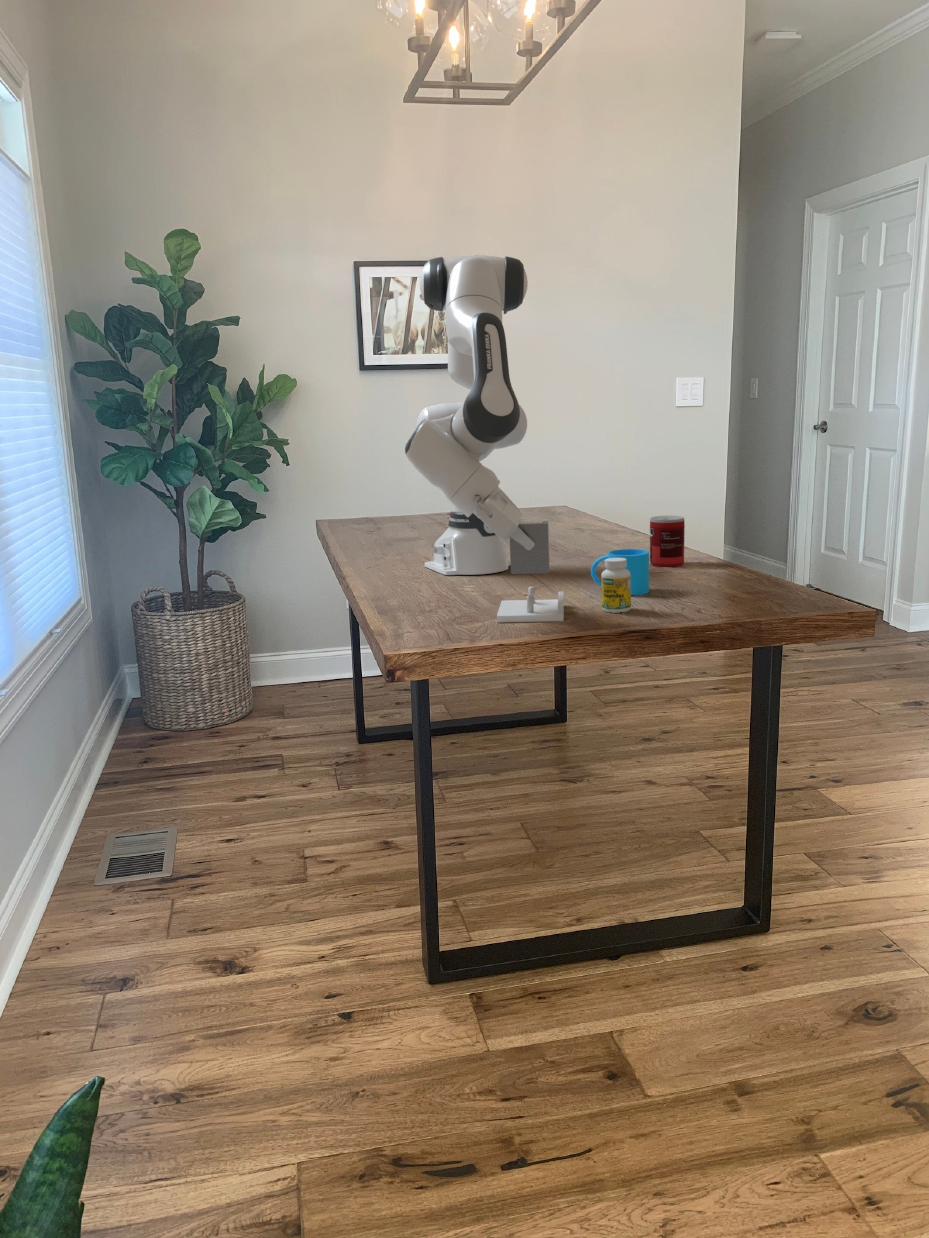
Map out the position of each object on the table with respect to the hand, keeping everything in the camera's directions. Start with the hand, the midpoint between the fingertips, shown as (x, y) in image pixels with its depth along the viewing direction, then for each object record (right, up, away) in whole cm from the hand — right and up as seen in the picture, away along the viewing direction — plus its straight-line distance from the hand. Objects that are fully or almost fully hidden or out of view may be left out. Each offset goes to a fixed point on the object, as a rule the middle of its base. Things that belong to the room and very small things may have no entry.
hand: (533, 545), depth 169 cm
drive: (0, -5, +1) cm, 5 cm away
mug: (+19, -8, +19) cm, 28 cm away
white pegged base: (0, -12, +3) cm, 13 cm away
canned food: (+35, -1, +45) cm, 57 cm away
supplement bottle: (+16, -12, +3) cm, 20 cm away
